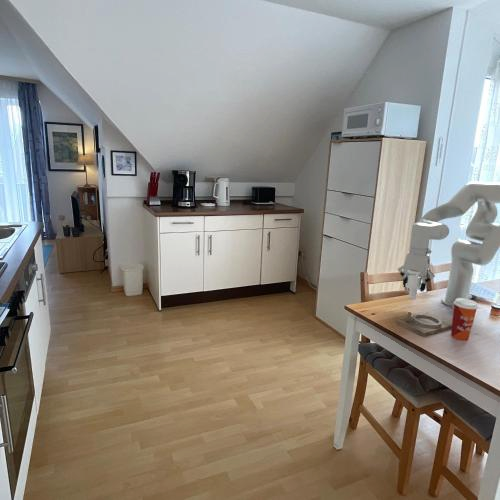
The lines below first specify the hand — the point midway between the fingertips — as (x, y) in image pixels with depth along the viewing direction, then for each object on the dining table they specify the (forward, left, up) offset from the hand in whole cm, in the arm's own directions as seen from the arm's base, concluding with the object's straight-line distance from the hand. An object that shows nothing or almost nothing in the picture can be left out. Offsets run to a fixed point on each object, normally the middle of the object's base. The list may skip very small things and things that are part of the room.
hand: (413, 288), depth 165 cm
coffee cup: (+5, +27, -11) cm, 29 cm away
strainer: (0, 0, -5) cm, 5 cm away
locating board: (+8, +14, -11) cm, 19 cm away
